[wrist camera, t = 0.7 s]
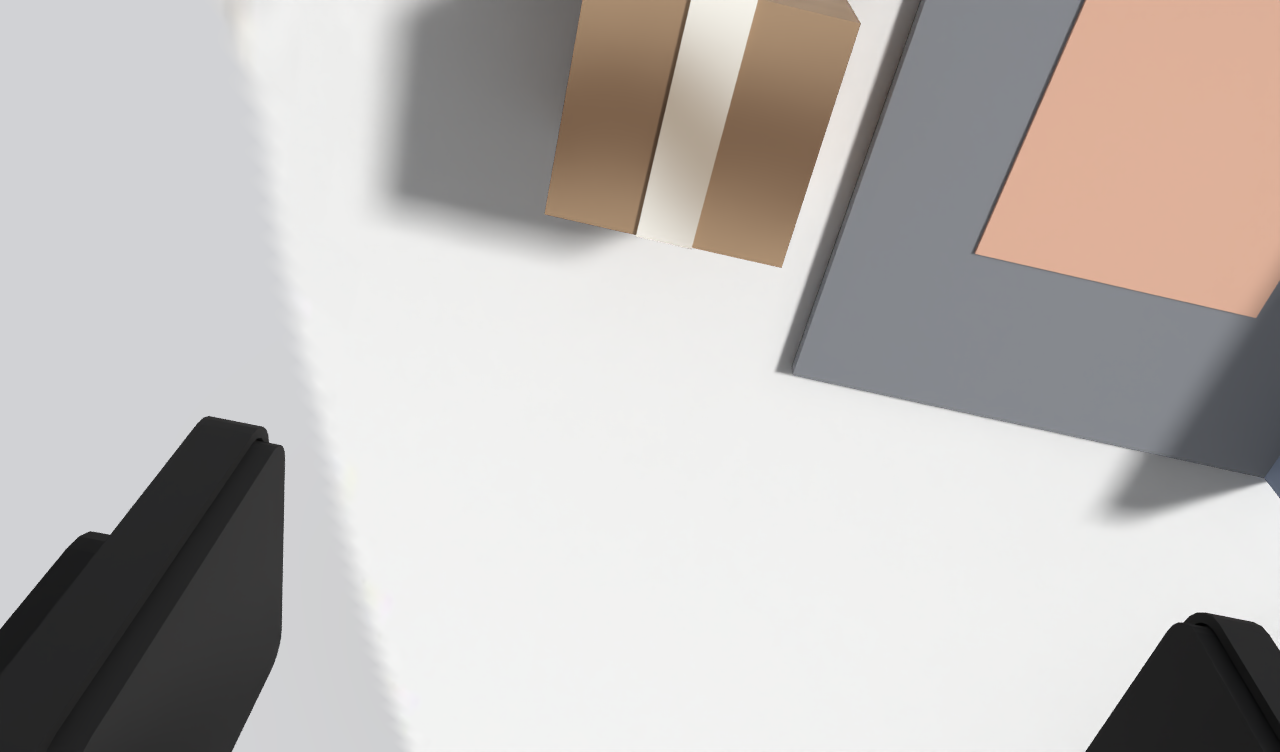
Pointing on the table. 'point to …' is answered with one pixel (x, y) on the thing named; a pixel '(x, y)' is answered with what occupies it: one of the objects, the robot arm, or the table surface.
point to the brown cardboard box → (699, 119)
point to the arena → (1073, 227)
